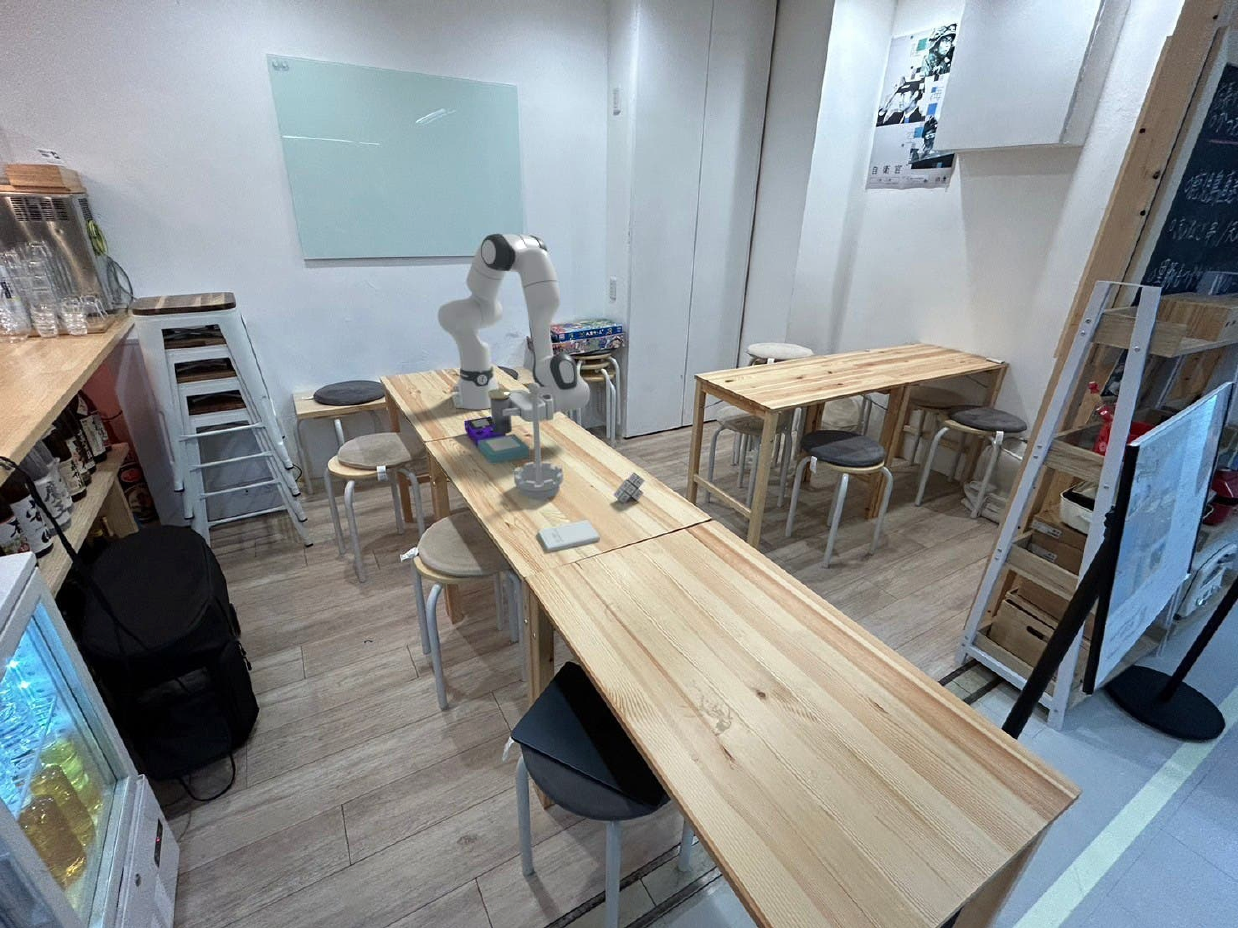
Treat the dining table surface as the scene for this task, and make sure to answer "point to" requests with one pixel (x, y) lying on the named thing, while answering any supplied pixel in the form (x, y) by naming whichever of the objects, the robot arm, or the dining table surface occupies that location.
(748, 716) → the dining table surface
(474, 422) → the handheld gaming console
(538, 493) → the flag stand
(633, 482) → the building blocks
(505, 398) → the metal jar with lid
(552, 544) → the external hard drive
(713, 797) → the dining table surface
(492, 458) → the stand
